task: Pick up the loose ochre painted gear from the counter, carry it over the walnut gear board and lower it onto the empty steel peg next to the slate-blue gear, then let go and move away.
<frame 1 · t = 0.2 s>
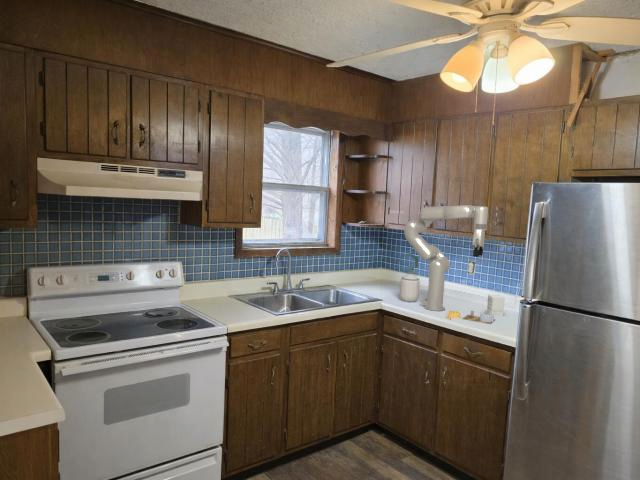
hand: (477, 255, 278), 36 cm above the worktop, tool pointing down, fingers open, 9 cm apart
ochre gear: (453, 318, 271), on the worktop
gear board: (478, 321, 268), on the worktop
supplement box: (494, 317, 281), on the worktop
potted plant: (408, 300, 313), on the worktop
slate gear: (486, 320, 266), resting on gear board
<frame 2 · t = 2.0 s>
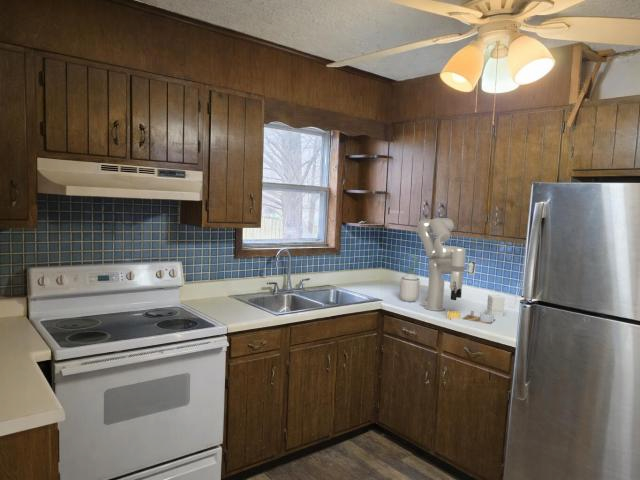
hand: (455, 298, 269), 12 cm above the worktop, tool pointing down, fingers open, 9 cm apart
nothing on the worktop moved.
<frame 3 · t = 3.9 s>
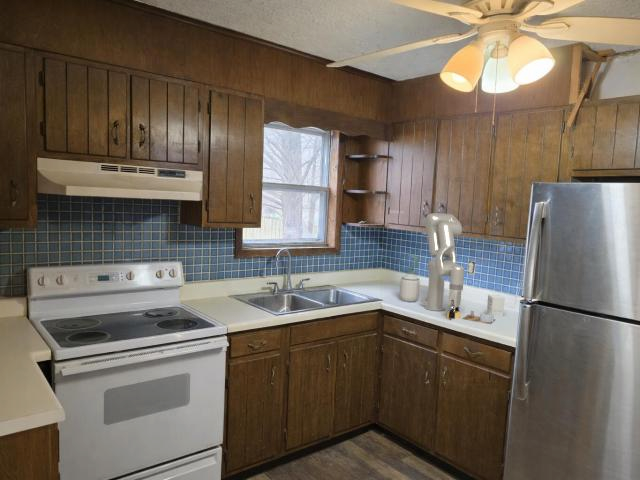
hand: (453, 317, 271), 1 cm above the worktop, tool pointing down, fingers closed on ochre gear, 7 cm apart
ochre gear: (453, 318, 271), on the worktop, touching gripper
everything else where it was.
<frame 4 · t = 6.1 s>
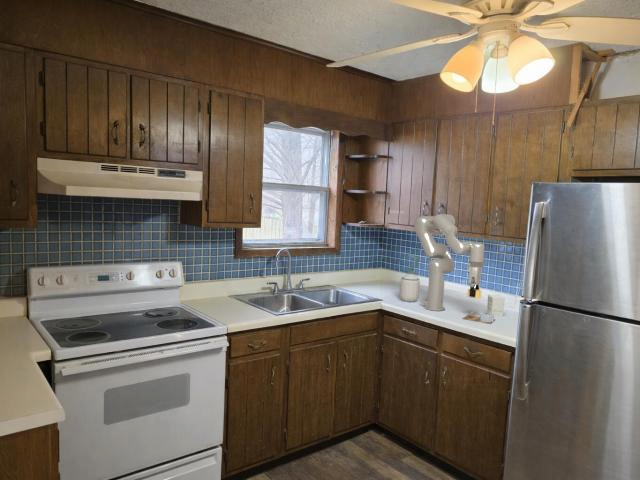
hand: (474, 295, 268), 15 cm above the worktop, tool pointing down, fingers closed on ochre gear, 7 cm apart
ochre gear: (474, 296, 269), point 14 cm above the worktop, touching gripper
everything else where it was.
when the fingers open (3 cm above the worktop, at t = 8.5 s): ochre gear drops 1 cm, resting on gear board.
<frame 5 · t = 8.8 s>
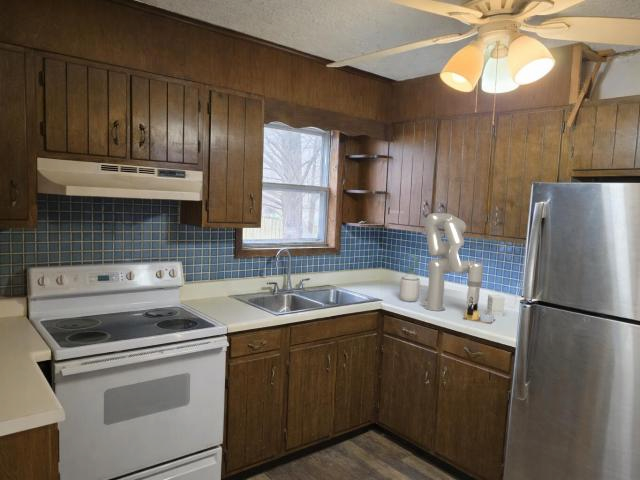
hand: (472, 313, 270), 4 cm above the worktop, tool pointing down, fingers open, 9 cm apart
ochre gear: (471, 318, 270), point 1 cm above the worktop, touching gear board
everything else where it was.
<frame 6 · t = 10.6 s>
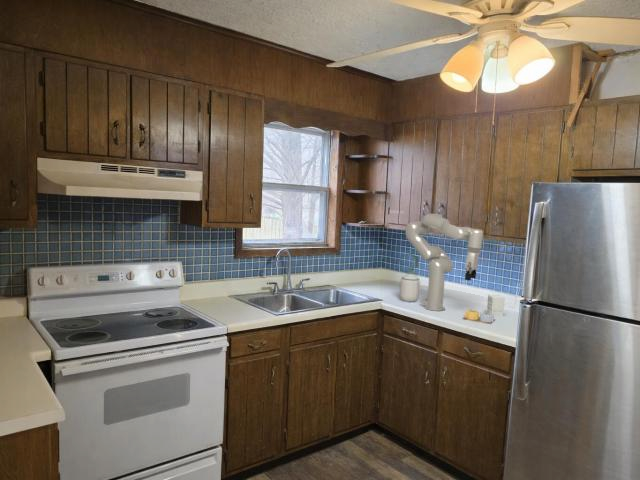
hand: (470, 279, 275), 23 cm above the worktop, tool pointing down, fingers open, 9 cm apart
nothing on the worktop moved.
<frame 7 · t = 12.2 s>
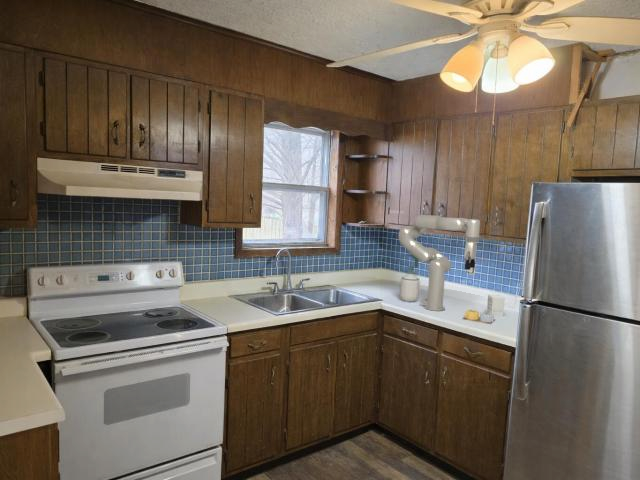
hand: (469, 268, 279), 28 cm above the worktop, tool pointing down, fingers open, 9 cm apart
nothing on the worktop moved.
at the end: ochre gear 0.0 cm from the target spot on the gear board, point 1.2 cm above the gear board's base; ochre gear tilted 0°; the gripper is holding nothing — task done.
